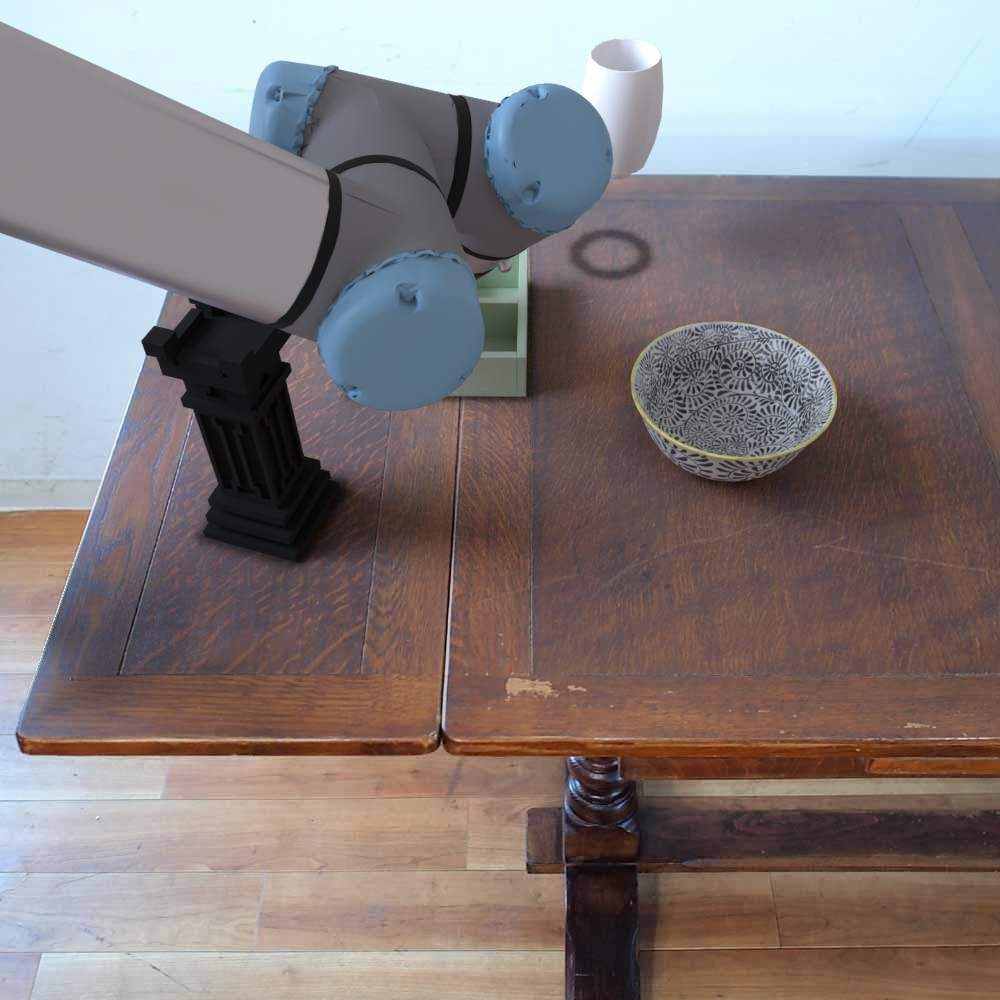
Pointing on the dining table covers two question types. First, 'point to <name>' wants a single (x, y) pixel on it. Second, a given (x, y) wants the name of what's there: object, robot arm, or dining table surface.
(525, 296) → the grid
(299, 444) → the chess piece
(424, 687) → the dining table surface
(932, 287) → the dining table surface
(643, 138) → the cup
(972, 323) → the dining table surface
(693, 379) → the bowl
